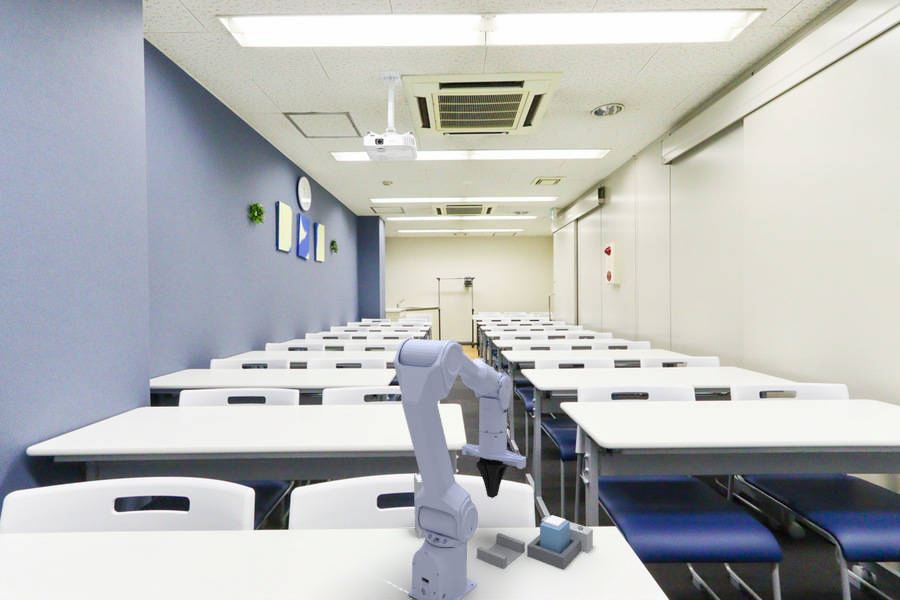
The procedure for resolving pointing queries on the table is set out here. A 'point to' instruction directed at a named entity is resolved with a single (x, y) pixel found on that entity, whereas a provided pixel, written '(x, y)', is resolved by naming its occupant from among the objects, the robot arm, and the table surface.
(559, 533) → the plug
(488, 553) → the grey u-shaped bracket
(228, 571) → the table surface
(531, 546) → the port
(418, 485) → the skincare box
